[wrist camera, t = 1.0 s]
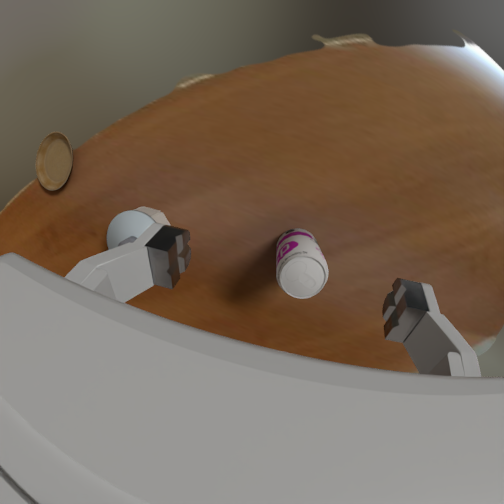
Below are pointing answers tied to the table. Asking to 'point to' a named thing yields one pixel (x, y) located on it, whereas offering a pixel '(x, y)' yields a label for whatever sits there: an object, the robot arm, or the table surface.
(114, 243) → the lid
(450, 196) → the table surface
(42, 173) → the plant saucer
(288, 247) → the supplement can
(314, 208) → the table surface
